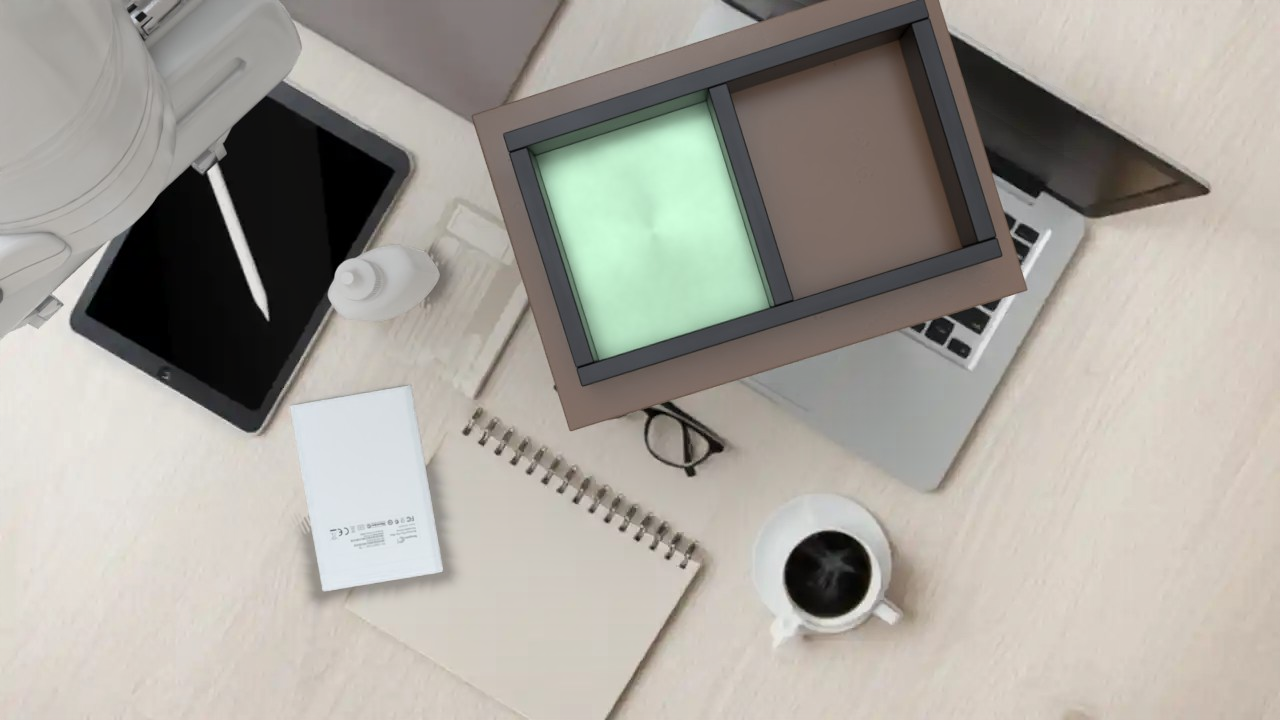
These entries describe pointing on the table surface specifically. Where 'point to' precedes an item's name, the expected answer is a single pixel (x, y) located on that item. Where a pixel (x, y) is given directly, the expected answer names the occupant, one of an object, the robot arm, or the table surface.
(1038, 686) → the table surface
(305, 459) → the hard drive
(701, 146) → the brown compartment tray
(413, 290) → the eye dropper bottle
